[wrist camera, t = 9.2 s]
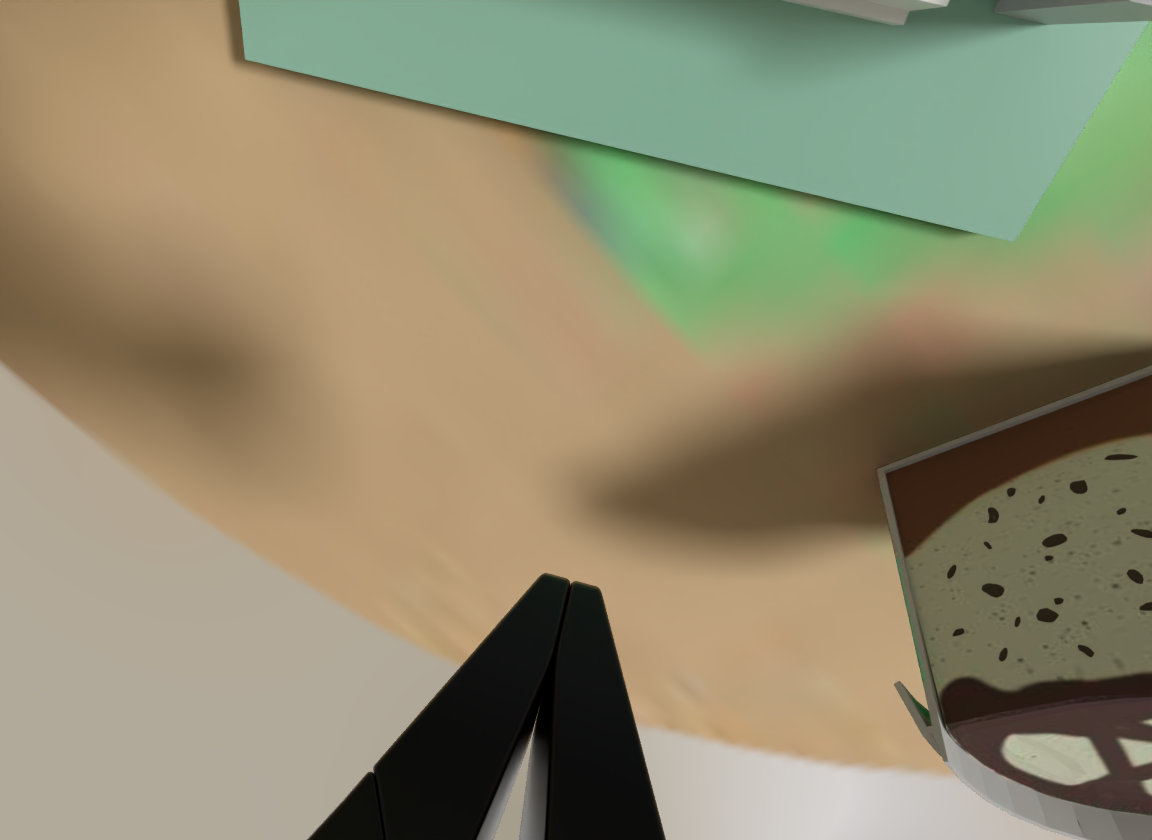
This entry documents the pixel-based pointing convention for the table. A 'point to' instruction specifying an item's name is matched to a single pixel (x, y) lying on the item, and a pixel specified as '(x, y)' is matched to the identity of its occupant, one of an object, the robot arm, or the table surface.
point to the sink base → (754, 84)
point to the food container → (1037, 607)
